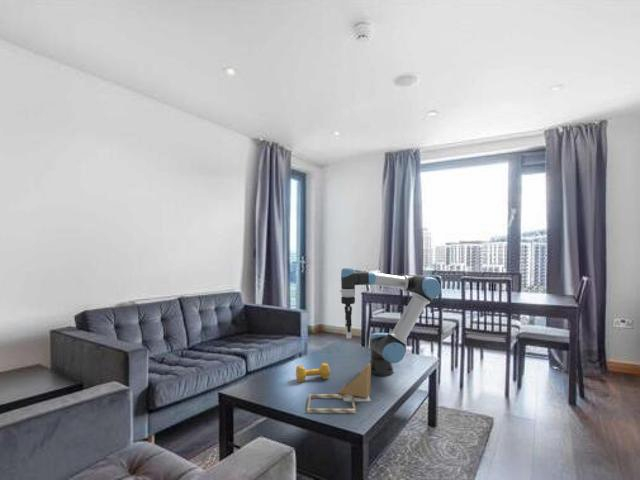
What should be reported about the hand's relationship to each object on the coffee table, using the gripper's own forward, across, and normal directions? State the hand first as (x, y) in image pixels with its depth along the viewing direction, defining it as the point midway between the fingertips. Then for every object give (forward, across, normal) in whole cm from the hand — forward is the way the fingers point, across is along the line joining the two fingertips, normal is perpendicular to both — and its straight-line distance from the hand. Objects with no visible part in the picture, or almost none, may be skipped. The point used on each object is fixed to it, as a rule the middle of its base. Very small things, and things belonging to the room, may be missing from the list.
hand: (348, 335), depth 199 cm
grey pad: (+27, +16, +3) cm, 31 cm away
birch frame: (+27, +26, -10) cm, 39 cm away
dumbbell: (+27, -7, -20) cm, 34 cm away
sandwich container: (+26, +16, +2) cm, 30 cm away
